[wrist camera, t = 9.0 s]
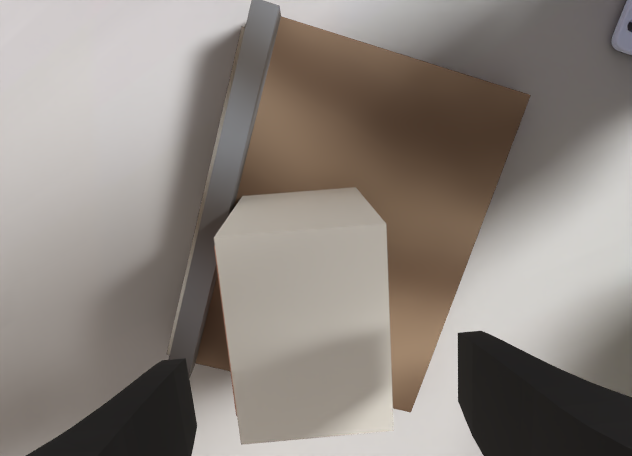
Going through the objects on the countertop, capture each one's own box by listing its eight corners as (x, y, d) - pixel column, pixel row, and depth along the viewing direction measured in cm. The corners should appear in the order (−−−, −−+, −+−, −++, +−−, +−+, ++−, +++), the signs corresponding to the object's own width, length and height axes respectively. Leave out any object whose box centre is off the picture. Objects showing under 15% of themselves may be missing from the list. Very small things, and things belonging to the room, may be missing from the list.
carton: (355, 187, 20) (386, 223, 13) (363, 332, 22) (393, 430, 15) (237, 196, 20) (206, 238, 13) (254, 341, 21) (234, 445, 15)
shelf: (254, 14, 19) (247, -5, 16) (517, 96, 20) (554, 92, 17) (176, 345, 23) (159, 378, 20) (405, 397, 24) (420, 436, 21)
